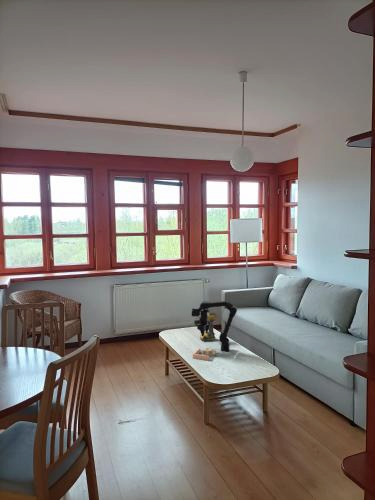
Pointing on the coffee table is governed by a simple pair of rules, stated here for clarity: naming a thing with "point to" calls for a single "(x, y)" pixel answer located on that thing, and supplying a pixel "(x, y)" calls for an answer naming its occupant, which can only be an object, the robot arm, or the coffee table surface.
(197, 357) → the block
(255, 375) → the coffee table surface
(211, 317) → the cordless drill
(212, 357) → the slate mat
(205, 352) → the t block
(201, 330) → the robot arm
